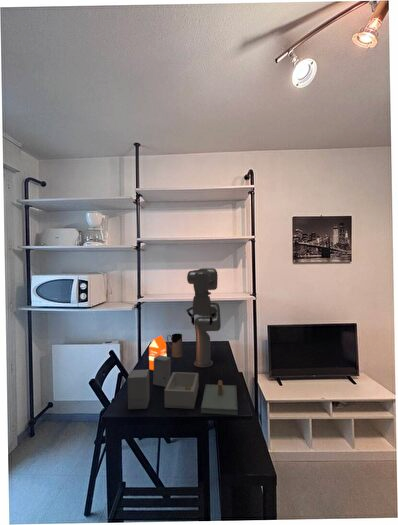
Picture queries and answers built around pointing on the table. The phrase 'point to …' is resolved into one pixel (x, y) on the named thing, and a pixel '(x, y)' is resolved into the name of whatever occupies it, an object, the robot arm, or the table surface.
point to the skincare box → (161, 370)
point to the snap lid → (220, 399)
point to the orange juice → (156, 350)
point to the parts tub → (181, 390)
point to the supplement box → (138, 389)
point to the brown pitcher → (176, 345)
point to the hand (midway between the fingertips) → (202, 324)
